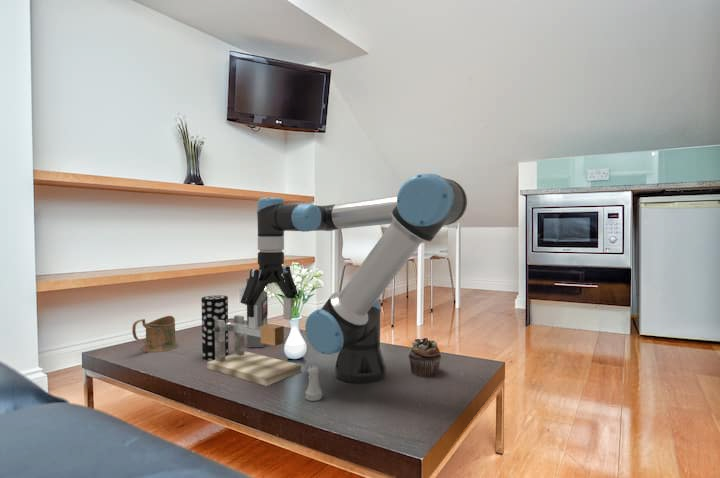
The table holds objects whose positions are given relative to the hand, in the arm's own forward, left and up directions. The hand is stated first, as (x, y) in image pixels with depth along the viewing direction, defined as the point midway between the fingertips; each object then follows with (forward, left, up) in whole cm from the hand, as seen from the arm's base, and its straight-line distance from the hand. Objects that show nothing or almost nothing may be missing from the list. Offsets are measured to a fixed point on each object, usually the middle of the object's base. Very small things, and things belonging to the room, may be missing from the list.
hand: (271, 323), depth 124 cm
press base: (+8, 0, -15) cm, 17 cm away
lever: (+8, 0, -6) cm, 10 cm away
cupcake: (-36, -27, -15) cm, 48 cm away
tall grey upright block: (+30, -22, -15) cm, 40 cm away
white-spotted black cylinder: (+29, -2, -15) cm, 33 cm away
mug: (+54, +5, -15) cm, 56 cm away
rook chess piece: (-21, +6, -15) cm, 27 cm away
